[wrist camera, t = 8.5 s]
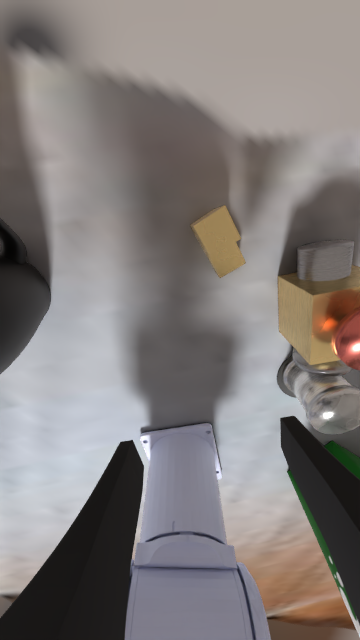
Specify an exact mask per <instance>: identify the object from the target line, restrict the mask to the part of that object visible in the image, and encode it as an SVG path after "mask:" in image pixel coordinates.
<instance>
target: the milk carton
mask: <svg viewBox="0 0 360 640" xmlns="http://www.w3.org/2000/svg"><path fill="white" fill-rule="evenodd" d="M324 447H325V448H326V449H327V450H328V451H329V452H330V453H331V454H332V455H334V456H335V457H336V458H337V459H338V460H339V461H340V462H341V463H342V464H343V465H344V466H345V467H346V468H347V469H349V470H350V471H351V472H352V473H353V474H354V475H355V476H356V477H358V478H359V479H360V458H359V457H358V456H356V455H354V454H353V453H351V452H350V451H348V450H346V449H345V448H343V447H341V446H340V445H338V444H337V443H335V442H333V441H331V442H330V443H328V444H327V445H325V446H324ZM287 472H288V475H289V477H290V479H291V481H292V484H293V486H294V488H295V491H296V493H297V495H298V497H299V500H300V502H301V504H302V507H303V509H304V511H305V513H306V516H307V518H308V520H309V522H310V524H311V527H312V529H313V531H314V533H315V536H316V538H317V540H318V543H319V545H320V547H321V550H322V552H323V554H324V556H325V559H326V561H327V563H328V566H329V568H330V570H331V572H332V575H333V577H334V579H335V582H336V584H337V586H338V588H339V591H340V593H341V595H342V598H343V600H344V602H345V605H346V607H347V609H348V611H349V614H350V616H351V618H352V621H353V623H354V625H355V628H356V630H357V632H358V634H359V637H360V625H359V622H358V620H357V617H356V615H355V612H354V610H353V607H352V605H351V603H350V600H349V598H348V595H347V593H346V590H345V588H344V585H343V583H342V580H341V578H340V575H339V573H338V571H337V568H336V566H335V563H334V561H333V559H332V556H331V554H330V551H329V549H328V547H327V545H326V542H325V540H324V538H323V536H322V534H321V532H320V530H319V528H318V526H317V524H316V522H315V520H314V518H313V516H312V514H311V512H310V510H309V508H308V506H307V504H306V502H305V499H304V497H303V495H302V493H301V491H300V489H299V487H298V485H297V483H296V481H295V479H294V477H293V475H292V473H291V471H290V470H289V471H287Z"/></svg>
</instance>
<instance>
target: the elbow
mask: <svg viewBox="0 0 360 640" xmlns="http://www.w3.org/2000/svg"><path fill="white" fill-rule="evenodd" d="M190 227H191V229H192V230H193V232H194V234H195V236H196V238H197V239H198V241H199V243H200V245H201V247H202V248H203V250H204V252H205V254H206V256H207V257H208V259H209V261H210V263H211V265H212V266H213V268H214V270H215V272H216V273H217V275H218V276H219V277H220V278H221V277H223V276H225V275H226V274H228V273H230V272H231V271H233V270H235V269H237V268H238V267H240V266H242V265H243V264H245V263H246V262H245V260H244V258H243V256H242V254H241V252H240V250H239V248H238V246H237V243H236V241H238V240H240V239H241V237H240V235H239V233H238V231H237V229H236V227H235V225H234V223H233V220H232V218H231V216H230V214H229V212H228V210H227V208H226V206H225V205H224V206H221V207H218V208H215V209H213V210H212V211H210V212H209V213H207V214H206V215H204V216H203V217H201V218H200V219H198V220H197V221H195V222H194V223H192V224H191V225H190Z"/></svg>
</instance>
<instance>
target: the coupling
mask: <svg viewBox="0 0 360 640" xmlns="http://www.w3.org/2000/svg"><path fill="white" fill-rule="evenodd" d="M282 379H283V382H284V383H285V385H286V386H287V388H288V389H289V390H290V391H292V392H293V393H294V394H295V396H296V397H297V399H298V400H299V402H300V403H301V405H302V406H303V408H304V409H305V411H306V415H307V418H308V420H309V422H310V423H311V425H312V426H313V428H314V429H315V430H317V431H319V432H321V433H324V434H341V433H345V432H348V431H351V430H353V429H355V428H357V427H358V426H360V389H358V388H357V387H354V386H352V385H351V384H350V383H349V382H347V381H346V380H345V379H344V378H343V377H342V376H341V375H340V376H332V377H328V376H319V375H314V374H311V373H308V372H306V371H304V370H302V369H300V368H299V367H298V366H297V365H296V364H295V363H294V361H293V358H292V359H291V360H290V361H289V362H288V363H287V364H286V365H285V367H284V369H283V372H282Z"/></svg>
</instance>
